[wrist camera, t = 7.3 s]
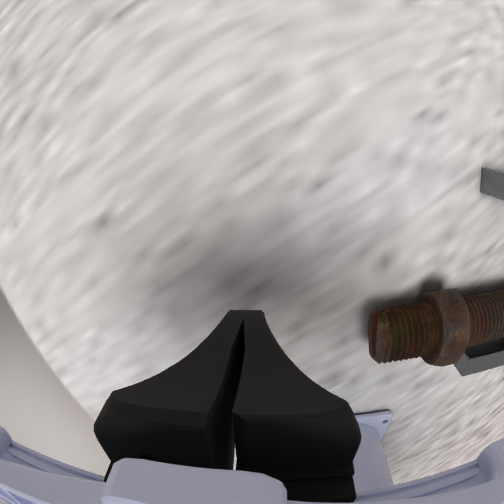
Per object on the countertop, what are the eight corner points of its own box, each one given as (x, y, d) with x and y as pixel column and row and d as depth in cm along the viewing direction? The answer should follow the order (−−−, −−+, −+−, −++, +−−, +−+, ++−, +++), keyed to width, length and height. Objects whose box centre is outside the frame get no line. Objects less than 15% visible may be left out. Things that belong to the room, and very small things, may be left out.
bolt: (358, 293, 19) (520, 272, 18) (361, 369, 18) (523, 333, 17) (385, 289, 13) (566, 263, 12) (388, 392, 13) (569, 336, 11)
